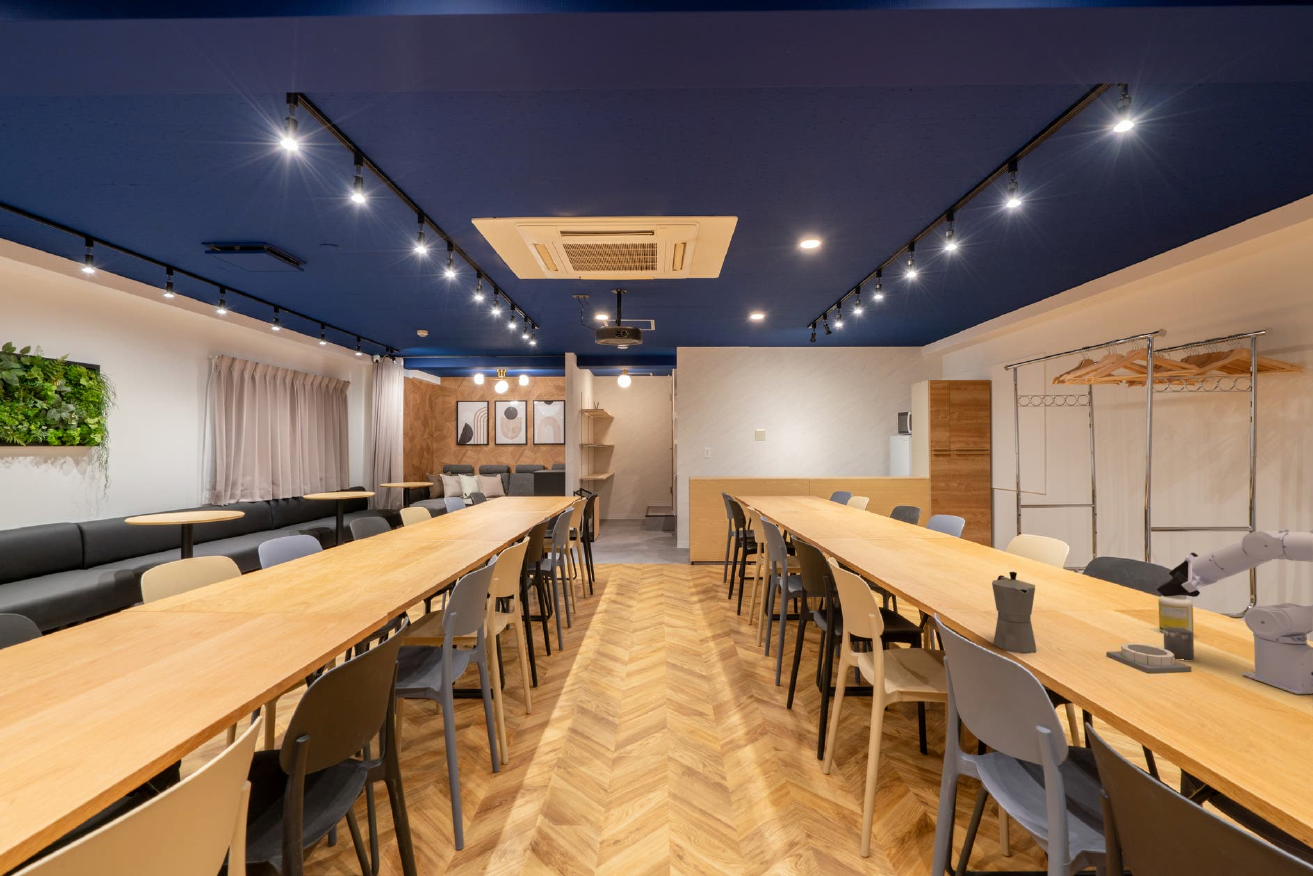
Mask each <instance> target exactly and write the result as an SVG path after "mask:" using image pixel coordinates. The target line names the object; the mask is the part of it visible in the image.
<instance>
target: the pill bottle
mask: <svg viewBox="0 0 1313 876" xmlns="http://www.w3.org/2000/svg"><path fill="white" fill-rule="evenodd" d="M1158 621H1159V622H1158V624H1159V631H1161V632H1162V633H1164V630H1163V628H1165V627H1174V628H1181V629H1185V630H1189V631H1191V632H1193V633H1194V605H1193V601H1192V600H1190V599H1189V598H1187V596H1185V595H1178V596H1167V597H1164V596H1163V595H1161V596H1159V598H1158Z"/></svg>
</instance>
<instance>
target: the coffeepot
mask: <svg viewBox="0 0 1313 876" xmlns="http://www.w3.org/2000/svg"><path fill="white" fill-rule="evenodd" d="M1008 573H1009V577H1006V576H1004V575H998V576H997V579H995V580H992V582H991V586H992V590H993V591H992V592H993V597H994V602H995V603H994V604H995V607H996V608H995V609H996V611H997V619H996V627H995V632H994V638H993V645H994V646H995V647H996V648H999V649H1001V650H1003V651H1008V652H1013V653H1017V652H1020V654H1032V653H1031V652H1033V653H1036V651H1037V645H1036V639H1035V635H1034V629H1033V625H1032V621H1031V617H1032V616H1031V615H1032V612H1033V605H1034V601H1035V600H1034V599H1035V593H1036V592H1035V591H1036V585H1035V584H1033V583H1030V582H1026V581H1023V580H1019V579H1017V575H1018V573H1017V572H1016V571H1008Z"/></svg>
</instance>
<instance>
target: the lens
mask: <svg viewBox="0 0 1313 876" xmlns="http://www.w3.org/2000/svg"><path fill="white" fill-rule="evenodd" d="M1163 630H1164V632H1163V649H1165V650H1168V651H1170V652H1172V653H1173V654H1174V658H1175V659H1174V660H1176V659H1184V660H1193V659H1194V660H1195V652H1194V651H1195V647H1194V645H1195V644H1194V643H1195V642H1194V631H1193V632H1191V631H1189V630H1185V629H1181V628H1174V627H1165V628H1163Z"/></svg>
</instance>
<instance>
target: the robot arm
mask: <svg viewBox="0 0 1313 876" xmlns="http://www.w3.org/2000/svg"><path fill="white" fill-rule="evenodd" d="M1273 560H1287V561H1293V562H1294V561H1295V562H1309V563H1313V529H1310V530H1309V531H1307V532H1306V531H1290V530H1289V529H1286V528H1285V529H1284V528H1282V529H1278V530H1265V531H1264V530H1259V531H1253V532H1248V533H1247V534H1245V535H1244V537H1243V538H1242V539H1240V540H1238V541H1234V542H1232V543H1229V544H1226V545H1225V546H1222V547H1219V548H1216V549H1215V550H1211V551H1208V552H1206V553H1203V554H1202V555H1198V554H1197V553H1195V552H1191V553H1189V554H1186V556H1185V557H1184V561H1182V562H1181V563H1180V564H1179V565H1177V566H1176V567H1175V568H1173V569H1172V570H1170V571H1169V573H1168V575H1170V576H1171V579H1170V580H1168V581H1166V582H1164V583H1163V584H1161V585H1159V587H1157V589H1156V590H1157V592H1158V593H1159V594H1161V596H1164V597H1167V596H1178V595H1185V596H1186V597H1192V598H1196V597H1198V596H1199V595H1200V594H1201V592H1200V590H1199V589H1200V588H1203V587H1207V586H1210V585H1213V584H1215V583H1217V582H1219V581H1221V580H1224V579H1226V578H1230V577H1231V576H1235V575H1237V574H1240V573H1243V572H1246V571H1248V570H1249V571H1250V570H1251V569H1255V568H1257V567H1259V566H1260V565H1262V564H1266V563H1268V562H1270V561H1271V562H1272V561H1273ZM1244 622H1245V625H1246V626H1247V627H1248V629H1249V630H1250V631H1251V632H1252V634H1253V635H1252V636H1253V645H1254V672H1242V676H1244V675H1245V676H1244V677H1246V676H1247V678H1250V679H1252V680H1256V681H1259V682H1261V683H1264V684H1267V685H1270V686H1272V687H1275V688H1278V689H1281V690H1284V691H1286V692H1289V693H1292V694H1296V695H1304V694H1305V695H1307V694H1311V695H1312V694H1313V647H1312V646H1311V645H1310V644H1309V643H1308V634H1311V633H1312V632H1313V605H1299V604H1297V603H1291V602H1286V603H1285V602H1283V603H1280V604H1273V605H1255V606H1252V607H1249V608H1248V609H1247V610H1246V611H1245V613H1244Z"/></svg>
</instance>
